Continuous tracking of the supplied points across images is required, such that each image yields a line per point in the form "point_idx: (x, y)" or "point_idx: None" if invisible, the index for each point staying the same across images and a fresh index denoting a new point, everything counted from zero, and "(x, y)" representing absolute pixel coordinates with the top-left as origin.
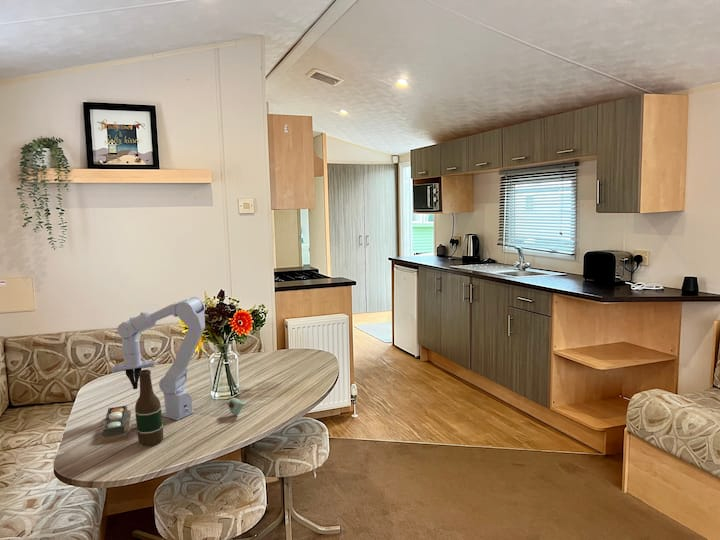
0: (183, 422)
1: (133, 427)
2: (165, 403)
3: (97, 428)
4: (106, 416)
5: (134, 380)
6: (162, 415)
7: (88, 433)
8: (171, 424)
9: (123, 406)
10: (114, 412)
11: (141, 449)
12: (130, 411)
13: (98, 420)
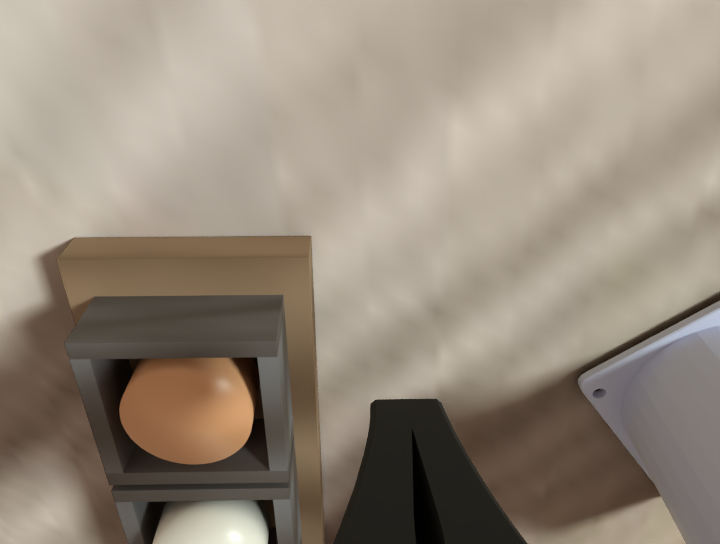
0: None
1: None
2: (673, 519)
3: (68, 423)
4: (120, 517)
5: (412, 513)
6: (591, 401)
7: (29, 476)
8: (612, 527)
9: (238, 357)
10: (188, 541)
11: None
12: (310, 275)
13: (3, 270)
